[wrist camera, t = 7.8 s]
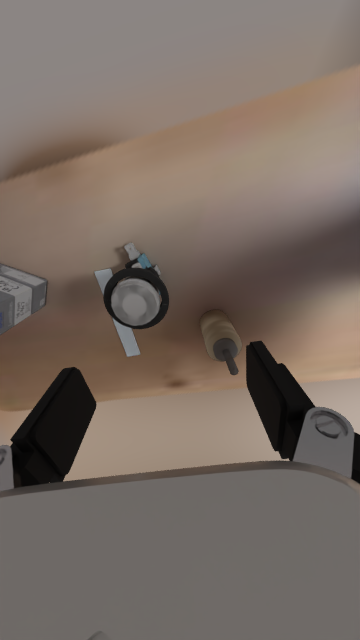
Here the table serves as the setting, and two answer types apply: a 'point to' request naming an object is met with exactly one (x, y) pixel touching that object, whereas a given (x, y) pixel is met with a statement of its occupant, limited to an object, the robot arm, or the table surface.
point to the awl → (220, 338)
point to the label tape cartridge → (19, 296)
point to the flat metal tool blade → (123, 331)
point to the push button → (136, 293)
